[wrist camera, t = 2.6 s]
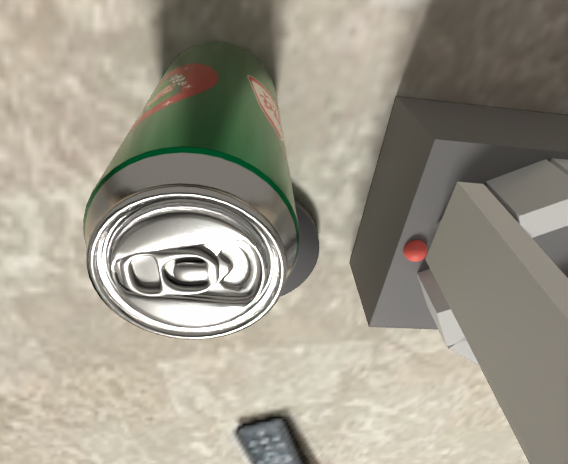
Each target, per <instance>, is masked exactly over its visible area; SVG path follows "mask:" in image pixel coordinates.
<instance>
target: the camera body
mask: <svg viewBox="0 0 568 464" xmlns="http://www.w3.org/2000/svg"><path fill="white" fill-rule="evenodd" d="M457 182H468V183H478V184H484V185H485V186H486V187H487V188H488V190H489V191H490V192H491V193H492V194H493V195H494V196H495V197H496V199H497V200H498V201H499V202H500V203H501V204H502V205H503V206H504V207H505V209H506V210H507V211H508V212H509V213H510V214H511V215H512V216H513V218H514V219H515V220H516V221H517V222H518V223H519V224H520V225H521V226H522V228H523V229H524V230H525V231H526V232H527V233H528V234H529V235H530V237H531V238H532V239H533V240H534V241H535V242H536V243H537V244H538V245H539V247H540V248H541V249H542V250H543V251H544V252H545V253H546V254H547V256H548V257H549V258H550V259H551V260H552V261H553V262H554V263H555V264H556V266H557V267H558V268H559V269H560V270H561V271H562V272H563V273H564V275H565V276H566V277H567V278H568V115H562V114H553V113H543V112H534V111H525V110H516V109H507V108H498V107H489V106H480V105H471V104H461V103H452V102H443V101H434V100H425V99H416V98H407V97H398V96H396V98H395V101H394V105H393V109H392V112H391V116H390V119H389V123H388V127H387V130H386V134H385V137H384V141H383V145H382V148H381V152H380V155H379V159H378V163H377V166H376V170H375V173H374V177H373V181H372V184H371V188H370V191H369V195H368V199H367V202H366V206H365V209H364V213H363V217H362V220H361V224H360V227H359V231H358V235H357V238H356V242H355V245H354V249H353V253H352V256H351V260H350V266H351V269H352V273H353V276H354V279H355V283H356V286H357V289H358V292H359V296H360V299H361V302H362V305H363V309H364V312H365V315H366V319H367V322H368V325H369V327H386V328H414V329H438V330H439V332H440V334H441V336H442V338H443V340H444V342H445V344H446V346H448V348H449V349H450V350H452V351H453V352H455V353H457V354H459V355H461V356H463V357H464V358H466V359H468V360H470V361H472V362H473V363H475V364H477V365H479V364H478V362H477V360H476V358H475V356H474V354H473V352H472V350H471V348H470V346H469V344H468V342H467V340H466V338H465V336H464V334H463V332H462V330H461V328H460V326H459V324H458V322H457V320H456V319H455V317H454V315H453V313H452V311H451V309H450V307H449V305H448V303H447V301H446V299H445V297H444V295H443V293H442V291H441V289H440V287H439V285H438V283H437V281H436V279H435V277H434V275H433V274H432V272H431V270H430V268H429V266H428V264H427V262H426V260H425V258H426V256H427V254H428V251H429V249H430V246H431V244H432V242H433V239H434V237H435V234H436V232H437V229H438V227H439V225H440V222H441V220H442V217H443V215H444V213H445V210H446V208H447V205H448V203H449V200H450V198H451V196H452V193H453V191H454V188H455V186H456V184H457ZM479 366H480V365H479Z"/></svg>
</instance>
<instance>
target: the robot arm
mask: <svg viewBox="0 0 568 464" xmlns="http://www.w3.org/2000/svg"><path fill="white" fill-rule="evenodd" d="M425 260H426V262H427V264H428V266H429V268H430V270H431V272H432V274H433V275H434V277H435V279H436V281H437V283H438V285H439V287H440V289H441V291H442V293H443V295H444V297H445V299H446V301H447V303H448V305H449V307H450V309H451V311H452V313H453V315H454V317H455V319H456V320H457V322H458V324H459V326H460V328H461V330H462V332H463V334H464V336H465V338H466V340H467V342H468V344H469V346H470V348H471V350H472V352H473V354H474V356H475V358H476V360H477V362H478V364H479V365H480V367H481V369H482V371H483V373H484V375H485V377H486V379H487V381H488V383H489V385H490V387H491V389H492V391H493V393H494V395H495V397H496V399H497V401H498V403H499V405H500V407H501V408H502V410H503V412H504V414H505V416H506V418H507V420H508V422H509V424H510V426H511V428H512V430H513V432H514V434H515V436H516V438H517V440H518V442H519V444H520V446H521V448H522V450H523V452H524V453H525V455H526V457H527V459H528V461H529V463H530V464H568V278H567V277H566V276H565V275H564V273H563V272H562V271H561V270H560V269H559V268H558V267H557V266H556V264H555V263H554V262H553V261H552V260H551V259H550V258H549V257H548V256H547V254H546V253H545V252H544V251H543V250H542V249H541V248H540V247H539V245H538V244H537V243H536V242H535V241H534V240H533V239H532V238H531V237H530V235H529V234H528V233H527V232H526V231H525V230H524V229H523V228H522V226H521V225H520V224H519V223H518V222H517V221H516V220H515V219H514V218H513V216H512V215H511V214H510V213H509V212H508V211H507V210H506V209H505V207H504V206H503V205H502V204H501V203H500V202H499V201H498V200H497V199H496V197H495V196H494V195H493V194H492V193H491V192H490V191H489V190H488V188H487V187H486V186H485V185H484V184H478V183H468V182H457V184H456V186H455V188H454V191H453V193H452V196H451V198H450V200H449V203H448V205H447V208H446V210H445V213H444V215H443V217H442V220H441V222H440V225H439V227H438V229H437V232H436V234H435V237H434V239H433V242H432V244H431V246H430V249H429V251H428V254H427V256H426V258H425Z"/></svg>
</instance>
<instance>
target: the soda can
mask: <svg viewBox="0 0 568 464" xmlns="http://www.w3.org/2000/svg"><path fill="white" fill-rule="evenodd" d="M83 230H84V238H85V243H86V248H87V269H88V274H89V278H90V280H91V282H92V285H93V287H94V289H95V290H96V292H97V293H98V295H99V296H100V298H101V299H102V300H103V301H104V303H105V304H106V305H107V306H108V307H109V308H110V309H111V310H112V311H114V312H115V313H116V314H117V315H119V316H120V317H121V318H123V319H124V320H126V321H128V322H129V323H131V324H133V325H135V326H137V327H139V328H141V329H143V330H146V331H149V332H152V333H154V334H157V335H162V336H166V337H171V338H179V339H210V338H216V337H221V336H226V335H229V334H232V333H235V332H238V331H240V330H242V329H245V328H247V327H249V326H251V325H252V324H254V323H255V322H257V321H259V320H260V319H261V318H262V317H263V316H265V315H266V314H267V313H268V312H269V311H270V310H271V309H272V307H273V306H274V305H275V304H276V302H277V301H278V299H279V297H280V295H281V294H282V291H283V288H284V285H285V282H286V279H287V277H288V276H289V274H290V272H291V271H292V269H293V267H294V264H295V261H296V258H297V256H298V250H299V243H300V241H299V226H298V220H297V214H296V208H295V202H294V196H293V190H292V184H291V178H290V173H289V167H288V161H287V155H286V149H285V143H284V137H283V131H282V125H281V119H280V113H279V107H278V101H277V95H276V91H275V86H274V84H273V81H272V79H271V77H270V75H269V73H268V72H267V70H266V69H265V67H264V66H263V65H262V64H261V62H260V61H258V60H257V59H256V58H255V57H254V56H253V55H251V54H250V53H248V52H247V51H245V50H244V49H241V48H239V47H237V46H234V45H230V44H227V43H218V42H212V43H204V44H200V45H196V46H194V47H192V48H189V49H187V50H186V51H184V52H183V53H181V54H180V55H179V56H178V57H177V58H176V59H175V60H174V61H173V62H172V63H171V65H170V66H169V68H168V69H167V71H166V72H165V74H164V76H163V77H162V79H161V81H160V82H159V84H158V85H157V87H156V89H155V90H154V92H153V94H152V95H151V97H150V99H149V100H148V102H147V103H146V105H145V107H144V108H143V110H142V112H141V113H140V115H139V116H138V118H137V120H136V121H135V123H134V125H133V126H132V128H131V130H130V131H129V133H128V134H127V136H126V138H125V139H124V141H123V143H122V144H121V146H120V147H119V149H118V151H117V152H116V154H115V156H114V157H113V159H112V161H111V162H110V164H109V165H108V167H107V169H106V170H105V172H104V174H103V175H102V177H101V178H100V180H99V182H98V183H97V185H96V187H95V188H94V190H93V192H92V194H91V196H90V198H89V201H88V203H87V205H86V210H85V214H84V219H83Z"/></svg>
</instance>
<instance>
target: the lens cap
mask: <svg viewBox="0 0 568 464" xmlns="http://www.w3.org/2000/svg"><path fill="white" fill-rule="evenodd" d="M294 202H295V208H296V214H297V220H298V226H299V241H300V243H299V250H298V256H297V258H296V261H295V264H294V267H293V269H292V271H291V272H290V274H289V276H288V277H287V279H286V282H285V285H284V288H283V291H282V294H281V295H280V296H282V295H285V294H287V293H289V292H291V291H292V290H294V289H295V288H297V287H298V286H299V285H300V284H302V283H303V282H304V281H305V280H306V279H307V277H308V276H309V275H310V274H311V272H312V271H313V269H314V267H315V265H316V262H317V259H318V254H319V240H318V235H317V230H316V226H315V224H314V221H313V219H312V217H311V215H310V213H309V212H308V211H307V210H306V208H305V207H304V206H303V205H302V204H301V203H300V202H299V201H298V200H296V199H295V198H294Z"/></svg>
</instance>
